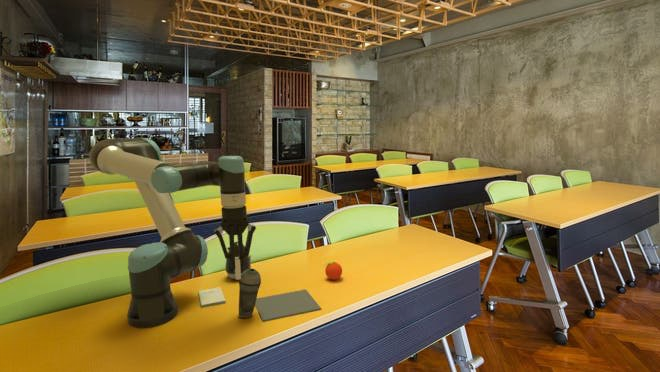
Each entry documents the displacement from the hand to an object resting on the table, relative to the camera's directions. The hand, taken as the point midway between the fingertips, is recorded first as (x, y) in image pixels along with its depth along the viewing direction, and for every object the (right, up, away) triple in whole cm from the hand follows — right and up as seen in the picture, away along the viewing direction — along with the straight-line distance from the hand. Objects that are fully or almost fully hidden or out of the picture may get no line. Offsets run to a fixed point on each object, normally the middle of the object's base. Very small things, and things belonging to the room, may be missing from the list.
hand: (238, 277), depth 120 cm
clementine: (+31, -9, +32) cm, 45 cm away
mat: (+14, -12, +11) cm, 21 cm away
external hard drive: (-14, -12, +16) cm, 24 cm away
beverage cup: (+2, -13, +3) cm, 14 cm away
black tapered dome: (-8, -8, +35) cm, 36 cm away
